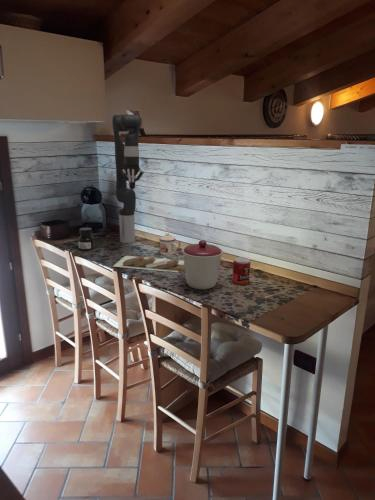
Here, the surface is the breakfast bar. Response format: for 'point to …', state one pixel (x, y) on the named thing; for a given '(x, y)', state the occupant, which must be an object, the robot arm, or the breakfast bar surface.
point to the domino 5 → (177, 268)
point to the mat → (120, 264)
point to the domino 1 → (133, 261)
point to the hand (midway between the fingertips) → (132, 189)
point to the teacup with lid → (167, 245)
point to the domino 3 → (157, 263)
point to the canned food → (241, 270)
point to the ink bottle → (86, 239)
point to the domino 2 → (146, 262)
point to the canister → (202, 264)
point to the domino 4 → (169, 264)
